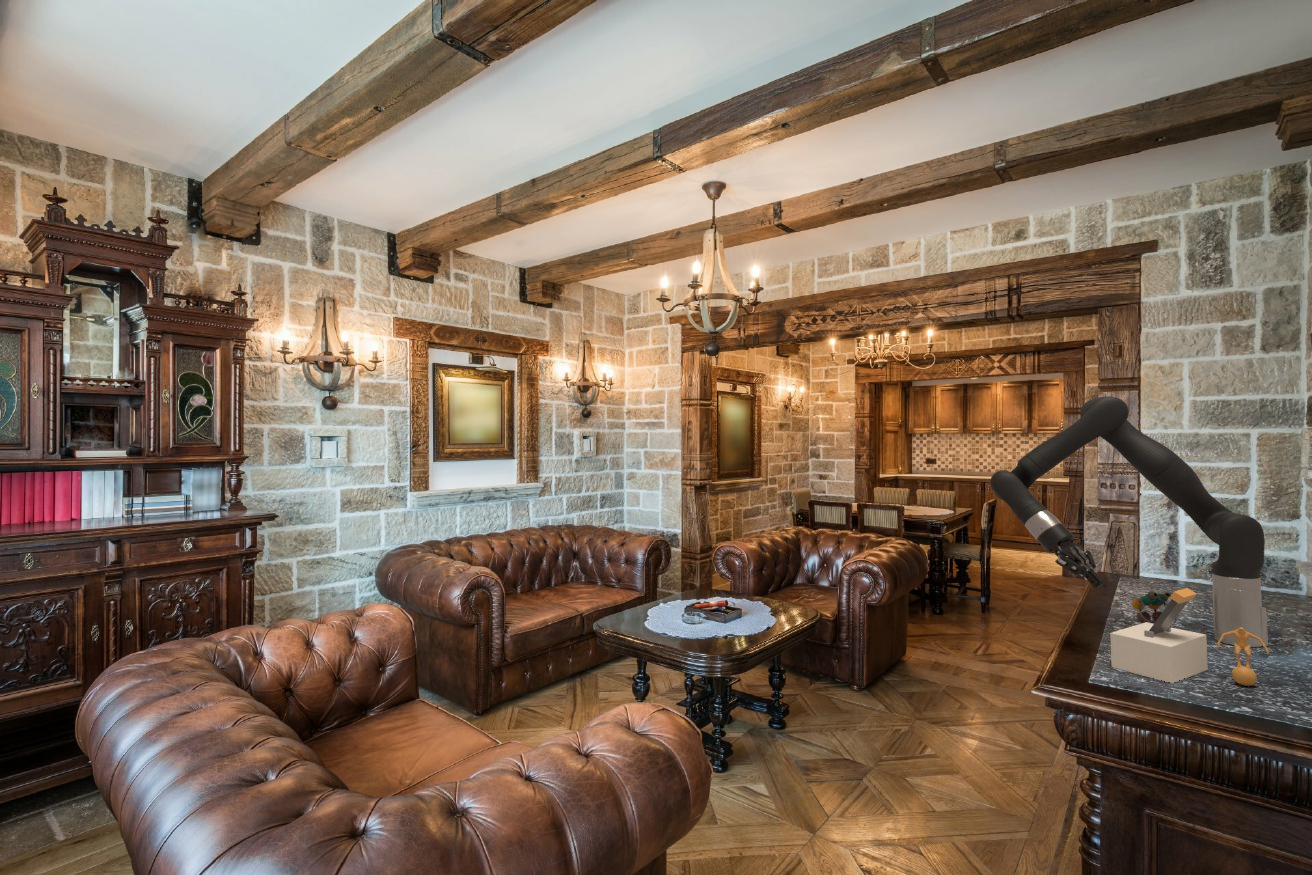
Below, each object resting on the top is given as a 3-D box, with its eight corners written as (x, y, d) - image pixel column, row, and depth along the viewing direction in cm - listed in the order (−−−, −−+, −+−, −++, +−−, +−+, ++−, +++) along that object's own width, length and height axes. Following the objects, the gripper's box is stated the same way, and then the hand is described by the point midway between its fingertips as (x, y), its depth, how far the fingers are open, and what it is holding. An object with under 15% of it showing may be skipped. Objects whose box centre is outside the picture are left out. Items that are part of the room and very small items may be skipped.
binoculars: (1172, 631, 179) (1158, 597, 184) (1192, 621, 171) (1176, 586, 177) (1137, 631, 180) (1124, 597, 185) (1155, 621, 172) (1141, 586, 177)
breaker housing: (1111, 666, 147) (1110, 627, 148) (1147, 654, 155) (1145, 617, 155) (1172, 683, 137) (1170, 641, 137) (1207, 669, 144) (1206, 629, 144)
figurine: (1219, 683, 136) (1217, 628, 136) (1217, 675, 141) (1215, 621, 141) (1272, 692, 131) (1270, 634, 131) (1268, 683, 136) (1266, 627, 136)
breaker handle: (1145, 631, 145) (1174, 591, 140) (1158, 626, 148) (1187, 587, 143) (1154, 637, 144) (1183, 597, 139) (1167, 632, 147) (1196, 593, 142)
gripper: (1043, 524, 162) (1096, 580, 151) (1073, 520, 168) (1126, 573, 157) (1024, 542, 167) (1074, 597, 156) (1053, 537, 173) (1103, 590, 162)
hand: (1100, 585), depth 157 cm, fingers closed
